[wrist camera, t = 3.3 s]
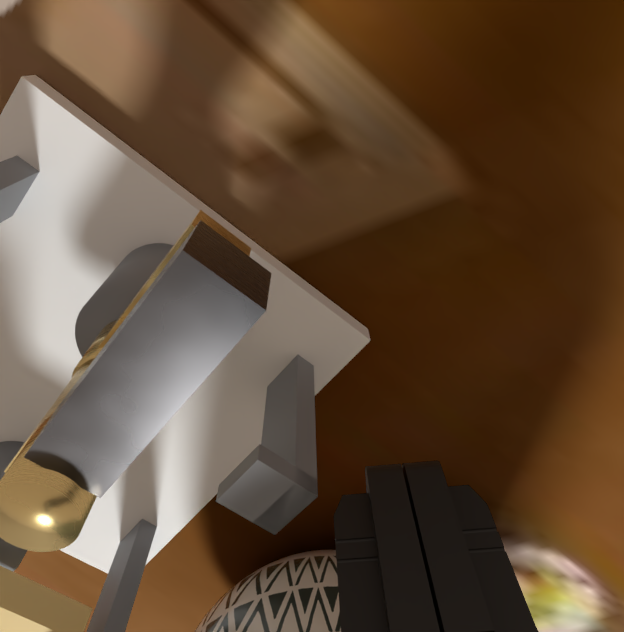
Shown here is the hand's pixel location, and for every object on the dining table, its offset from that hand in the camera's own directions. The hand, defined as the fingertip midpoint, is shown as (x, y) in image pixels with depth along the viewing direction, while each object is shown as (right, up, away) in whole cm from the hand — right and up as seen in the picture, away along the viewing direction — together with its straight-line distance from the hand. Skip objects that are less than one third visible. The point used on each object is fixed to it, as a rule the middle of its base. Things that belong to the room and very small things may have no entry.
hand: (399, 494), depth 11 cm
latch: (-8, +3, +8) cm, 12 cm away
